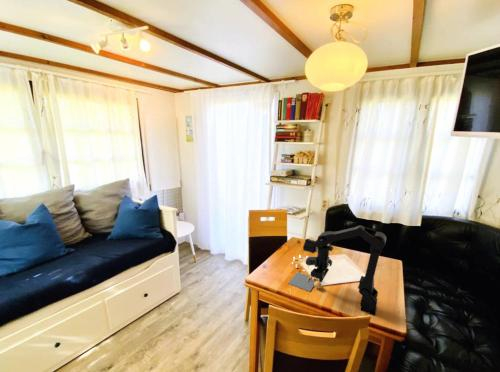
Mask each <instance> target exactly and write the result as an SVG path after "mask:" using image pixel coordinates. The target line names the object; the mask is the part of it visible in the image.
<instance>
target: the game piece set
mask: <svg viewBox="0 0 500 372" xmlns="http://www.w3.org/2000/svg"><path fill="white" fill-rule="evenodd" d="M308 257H309V255H306V256H305V258H306V259H307V258H308ZM299 258H300V259H302V255H301V254H299V256H298V259H299ZM292 259H293V260H292V262H291V264H292V265H295V269H297V268H298V266H299V264H298V263H297V264H295V261H296V259H297V258H296V256H293V258H292ZM293 261H294V262H293ZM314 268H315V266H314V267H311V271H312V270H313V269H314ZM302 270H303V272H306V270H305V269H303V268H302Z"/></svg>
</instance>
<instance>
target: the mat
mask: <svg viewBox="0 0 500 372" xmlns="http://www.w3.org/2000/svg"><path fill="white" fill-rule="evenodd" d="M310 276H311V275H308V274H305V273H302V272H299V271H297V272H296V273H295V275H293V277H292V278H291V279H290V280H289V281H288V282H287V284H288V285H291V286H292V287H296V288H299V289H302V290H304V291H306V292H307V293H308V292H309V293H310V292H311V291H312V290H313V288H315V286H314V281H316V279H315V280H314V281H313V280H312V278H310V279H309V280H308V278H309V277H310ZM317 281H319V279H318V278H317Z"/></svg>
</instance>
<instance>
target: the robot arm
mask: <svg viewBox="0 0 500 372" xmlns="http://www.w3.org/2000/svg"><path fill="white" fill-rule="evenodd" d="M353 237H360V238H362V239H363V240H364V241H366V242H367V243H369V244H370V254H369V258H368V261H367V262H368V264H367V267H366V271H365V275H364V276H363V275H361V277H360V279H359V281H358V282H359V283H358V287H357V289H358V293H359V294H360V296H361V298H360V303H359V306H360V311H362V312H364V313H367V314H370V315H372V316H376V314H377V313H376V312H377V308H378V307H377V305H378V296H379V295H378V294H379V292H378V290H377V289H376V287H375V279H374V277H375V274H376V270H377V267H378V266H377V265H378V262H379V257H380V255H381V253H382V251H383V249H384V248H385V246H386V241H387V236H386V235H385V233H384V232H381V231H376V230H374V229H372V228H368V227H366V226H363V225H360V224H359V225H357V226H353V227H350V228H347V229H346V228H344V229H341V230H338V231H330V230H329V231H323V232H321V233H319V235H318V236H317V239H316V240H312V239H309V238H305V241H304V244H303V248H302V250H303V251H304V252H308V253H311V254H315V253H317V254H316V255H317V256H308V258H306V260H305V264H306V265H307V267H308V266H309V267H310V266H314V269H313V270H312V269H311V271H310V276H312V277H315V278H317V279H318V281H319V282H320V283H322V282H323V281H324V279H325V277H326V276H327V274H328V272H329V270H330V269H329V267H332V265H333V260H332V259H330V256H329V255H330V252H332V251H333V250H334V247H333V246H332V244H333V243H334V242H336V241H340V240H344V239H349V238H353Z"/></svg>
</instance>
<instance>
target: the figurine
mask: <svg viewBox="0 0 500 372" xmlns="http://www.w3.org/2000/svg"><path fill="white" fill-rule="evenodd" d="M309 276H310V277H309V278H308V280H309V279H310V278H312V280H313V281H314V280H315V279H316V281H314V288H316V289H321V288H322V282H319V280H318V281H317V279H318V278H315V277H312V276H311V275H309Z"/></svg>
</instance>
